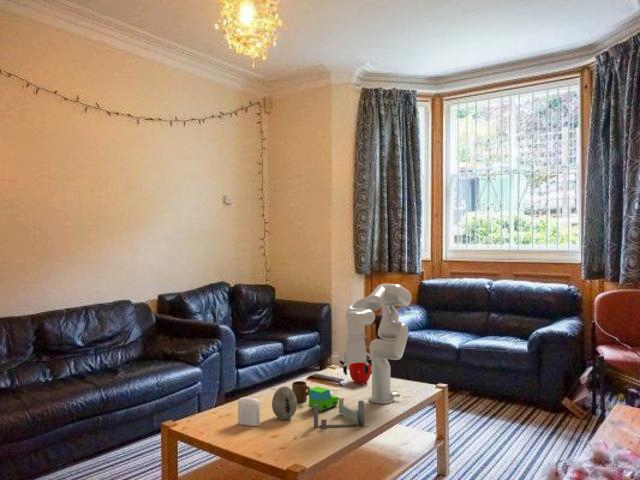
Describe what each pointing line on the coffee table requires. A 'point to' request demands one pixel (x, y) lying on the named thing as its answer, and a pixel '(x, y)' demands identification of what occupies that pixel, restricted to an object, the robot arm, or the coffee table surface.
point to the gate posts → (324, 424)
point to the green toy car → (322, 398)
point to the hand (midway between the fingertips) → (355, 373)
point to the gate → (347, 410)
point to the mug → (300, 391)
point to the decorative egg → (284, 403)
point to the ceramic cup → (359, 373)
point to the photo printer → (249, 411)
